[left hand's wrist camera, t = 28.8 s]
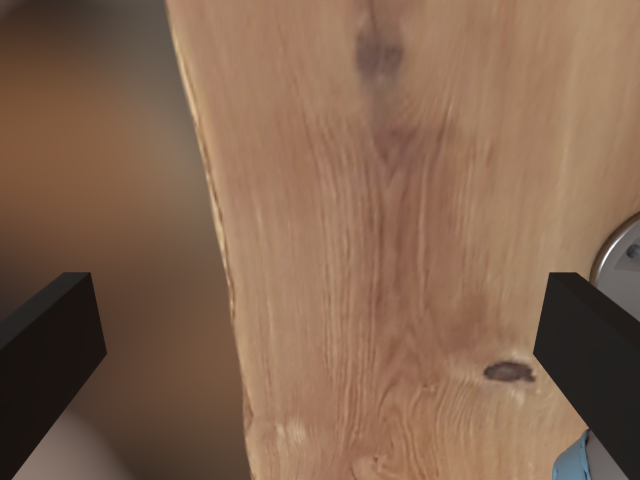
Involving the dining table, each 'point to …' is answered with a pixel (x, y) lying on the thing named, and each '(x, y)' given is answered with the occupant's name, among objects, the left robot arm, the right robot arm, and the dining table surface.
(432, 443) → the dining table surface
